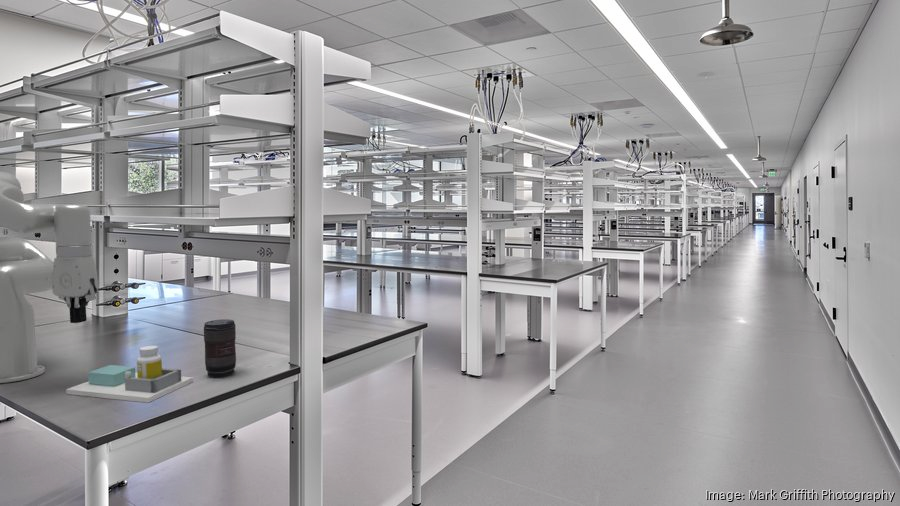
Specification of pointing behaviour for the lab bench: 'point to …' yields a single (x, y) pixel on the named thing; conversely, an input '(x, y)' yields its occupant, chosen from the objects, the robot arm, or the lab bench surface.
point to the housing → (110, 375)
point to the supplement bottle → (149, 363)
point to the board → (135, 387)
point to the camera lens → (220, 347)
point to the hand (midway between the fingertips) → (78, 321)
